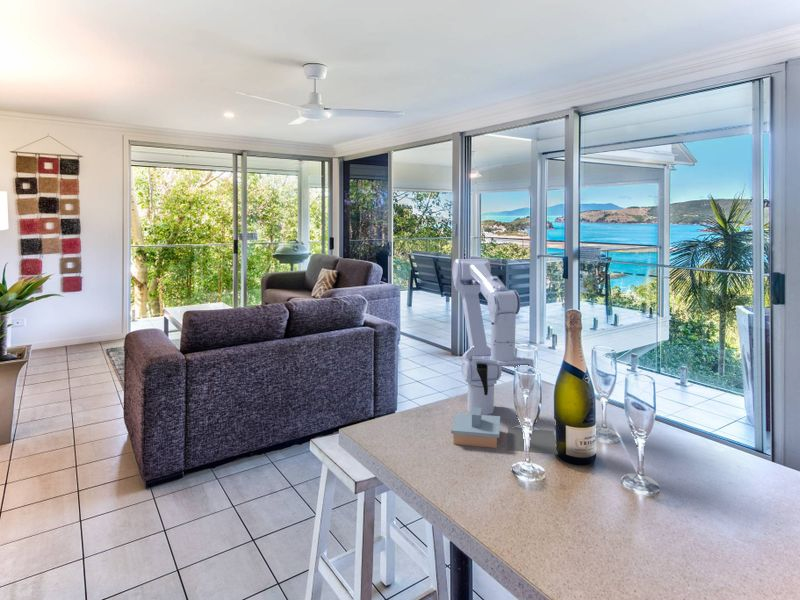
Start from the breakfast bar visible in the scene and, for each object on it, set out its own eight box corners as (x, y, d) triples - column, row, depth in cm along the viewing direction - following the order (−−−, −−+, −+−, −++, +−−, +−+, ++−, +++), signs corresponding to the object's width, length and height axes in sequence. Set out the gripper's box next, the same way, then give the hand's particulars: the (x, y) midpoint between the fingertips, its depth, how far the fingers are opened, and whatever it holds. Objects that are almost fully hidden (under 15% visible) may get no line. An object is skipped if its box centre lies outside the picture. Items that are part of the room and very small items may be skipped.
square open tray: (457, 429, 125) (457, 416, 125) (497, 433, 123) (498, 420, 123) (453, 447, 116) (453, 432, 115) (496, 451, 113) (497, 436, 113)
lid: (456, 415, 125) (456, 401, 125) (500, 419, 123) (500, 404, 122) (451, 433, 115) (451, 418, 114) (499, 437, 112) (499, 421, 112)
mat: (507, 430, 125) (508, 427, 125) (553, 433, 123) (553, 430, 123) (507, 453, 112) (507, 449, 112) (558, 457, 110) (558, 454, 110)
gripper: (471, 342, 117) (470, 398, 118) (534, 345, 113) (533, 402, 115) (473, 336, 123) (473, 389, 125) (533, 339, 120) (532, 392, 122)
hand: (502, 394), depth 121 cm, fingers open, 7 cm apart
